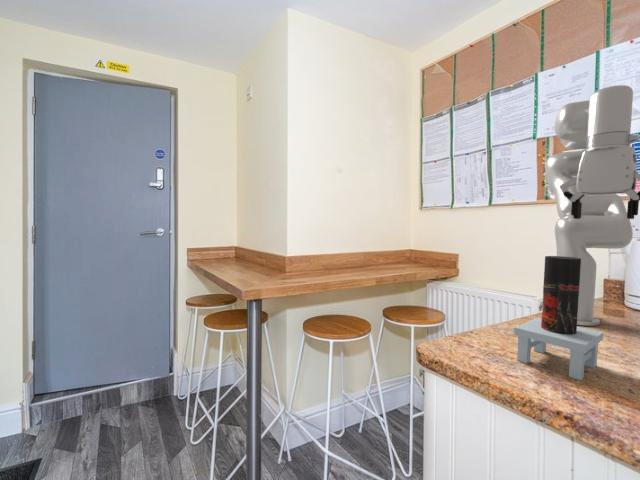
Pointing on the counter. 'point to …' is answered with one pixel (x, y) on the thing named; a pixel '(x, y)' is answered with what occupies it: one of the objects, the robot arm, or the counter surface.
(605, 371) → the counter surface
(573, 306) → the deodorant
